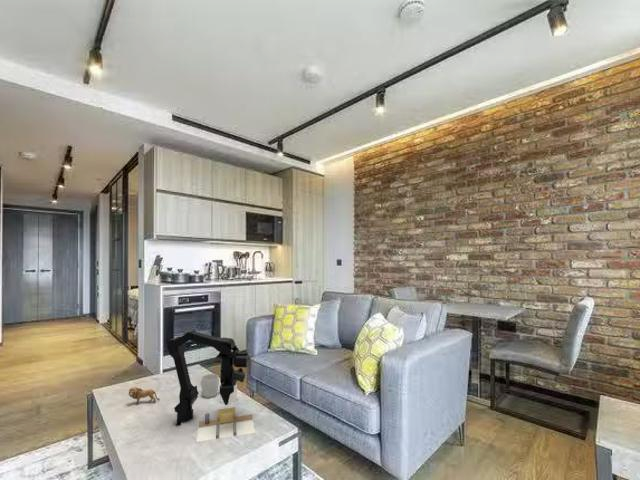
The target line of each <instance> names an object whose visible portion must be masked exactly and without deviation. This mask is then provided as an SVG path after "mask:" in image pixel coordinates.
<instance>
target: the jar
mask: <svg viewBox="0 0 640 480" xmlns="http://www.w3.org/2000/svg"><path fill="white" fill-rule="evenodd" d="M231 383H233V384H234V392H233V393H231V394H230V397H229V401H228V405H229V404H232V403H235V402H236V401H237V399H238V395H237V394H238V381H236V380H234V382H231ZM219 402H220V403H221V404H224V401H223V399H222V397H221V395H220V394H219Z"/></svg>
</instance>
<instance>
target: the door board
mask: <svg viewBox="0 0 640 480" xmlns="http://www.w3.org/2000/svg"><path fill="white" fill-rule="evenodd" d="M210 418H211V417H210V413H205V414H204V420H203V421H199V422H198V428H197V429H198V430H197V434H196V441H195V442H196V443H200V442H206V441H213V440H219V439H225V438H232V437H237V436H238V437H239V436H243V435H244V436H245V435H249V434H256V432H255V426H254V425H255V424H254V423H255V422H254V417H253V414H251V413H250V414H244V415H239V416H237V415H235V421H233V422H230V423H223V424H219V423H218V424H217V418H216V419H210Z"/></svg>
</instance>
